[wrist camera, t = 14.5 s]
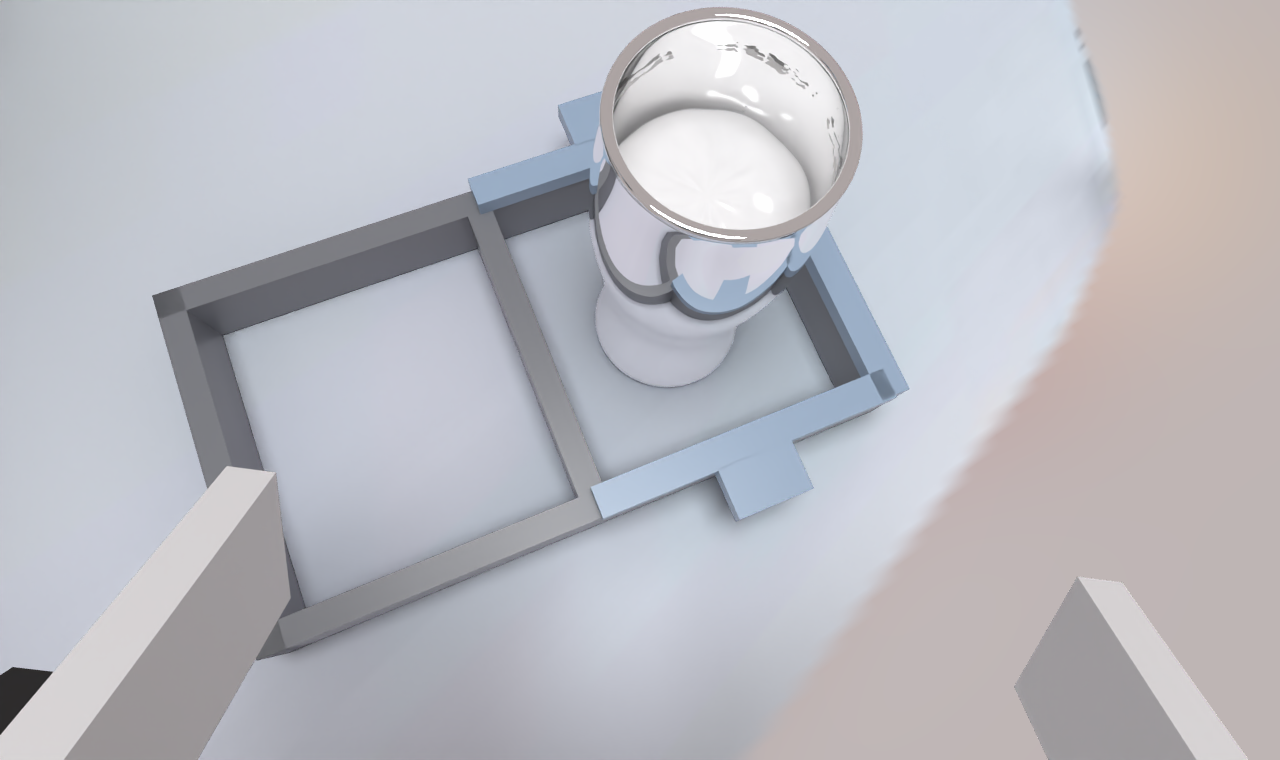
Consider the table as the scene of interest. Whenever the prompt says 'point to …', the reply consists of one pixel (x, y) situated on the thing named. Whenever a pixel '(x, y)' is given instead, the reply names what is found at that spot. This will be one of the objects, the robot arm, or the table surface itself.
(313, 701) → the table surface
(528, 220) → the open frame
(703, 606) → the table surface
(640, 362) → the drinking glass
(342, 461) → the table surface
